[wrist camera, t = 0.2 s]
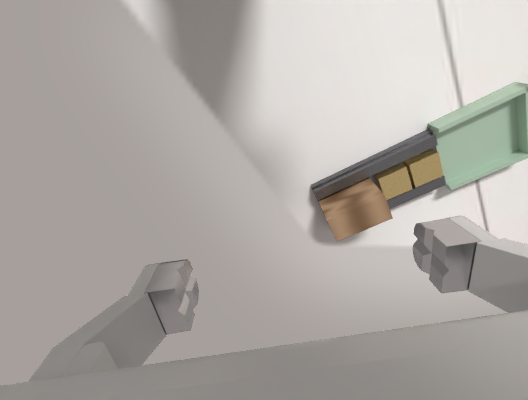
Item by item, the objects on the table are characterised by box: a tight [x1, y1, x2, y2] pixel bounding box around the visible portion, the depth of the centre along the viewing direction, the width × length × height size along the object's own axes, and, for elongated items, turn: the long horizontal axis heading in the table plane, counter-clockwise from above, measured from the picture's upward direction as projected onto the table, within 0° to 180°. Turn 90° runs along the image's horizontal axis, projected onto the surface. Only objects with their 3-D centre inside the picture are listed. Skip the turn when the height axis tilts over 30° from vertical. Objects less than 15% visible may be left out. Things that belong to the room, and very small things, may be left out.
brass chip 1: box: [374, 162, 413, 200], centre depth 51 cm, size 5×5×2 cm
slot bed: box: [311, 130, 446, 209], centre depth 52 cm, size 22×11×2 cm, turn 118°
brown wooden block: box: [318, 177, 392, 242], centre depth 50 cm, size 10×5×7 cm, turn 118°
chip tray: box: [428, 82, 528, 190], centre depth 48 cm, size 14×13×3 cm
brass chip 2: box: [404, 148, 444, 188], centre depth 50 cm, size 5×5×2 cm
